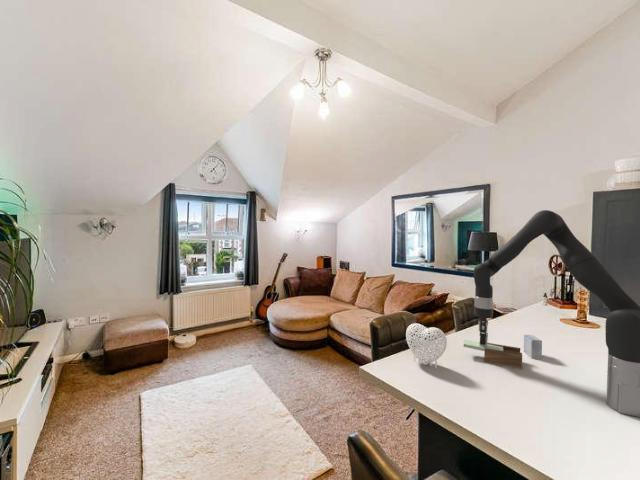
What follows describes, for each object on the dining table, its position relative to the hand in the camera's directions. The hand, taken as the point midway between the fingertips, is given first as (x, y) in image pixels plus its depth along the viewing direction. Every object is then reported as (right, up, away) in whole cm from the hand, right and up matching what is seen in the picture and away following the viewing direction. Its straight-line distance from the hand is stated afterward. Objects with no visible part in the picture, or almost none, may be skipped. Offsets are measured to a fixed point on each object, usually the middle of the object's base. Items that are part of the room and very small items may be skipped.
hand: (482, 343), depth 139 cm
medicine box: (+25, -7, +3) cm, 27 cm away
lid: (0, -3, 0) cm, 3 cm away
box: (+7, -7, -4) cm, 10 cm away
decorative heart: (-29, -7, -7) cm, 31 cm away
